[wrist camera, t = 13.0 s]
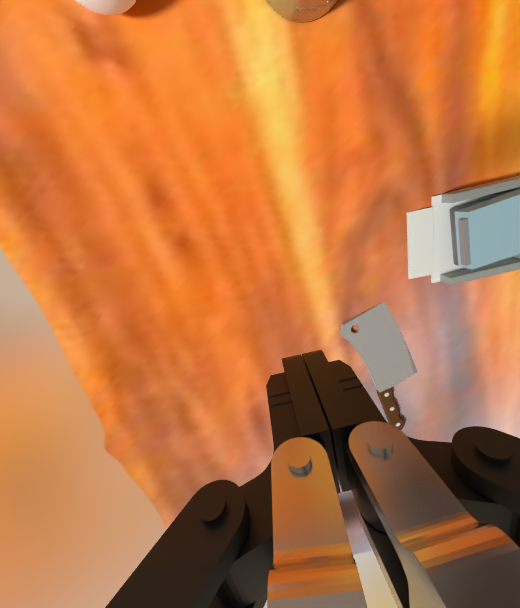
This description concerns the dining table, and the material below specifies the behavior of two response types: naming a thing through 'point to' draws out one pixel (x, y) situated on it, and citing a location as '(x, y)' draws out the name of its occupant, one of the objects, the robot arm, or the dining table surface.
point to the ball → (107, 6)
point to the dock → (450, 237)
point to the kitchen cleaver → (381, 354)
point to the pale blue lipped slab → (486, 229)
